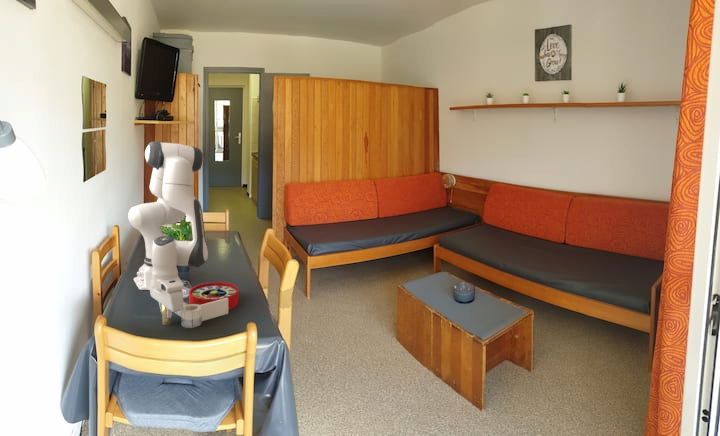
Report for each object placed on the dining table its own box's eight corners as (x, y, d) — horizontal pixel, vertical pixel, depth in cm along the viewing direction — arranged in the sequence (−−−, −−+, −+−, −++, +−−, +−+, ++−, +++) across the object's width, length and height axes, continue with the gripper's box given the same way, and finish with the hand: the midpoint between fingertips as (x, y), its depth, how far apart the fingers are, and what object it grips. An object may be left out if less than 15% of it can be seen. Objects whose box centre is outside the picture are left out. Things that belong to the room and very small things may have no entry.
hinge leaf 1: (165, 313, 181) (164, 297, 179) (182, 308, 186) (181, 293, 184) (187, 329, 168) (186, 313, 167) (204, 324, 173) (204, 308, 172)
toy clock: (181, 298, 182) (198, 281, 201) (182, 312, 183) (198, 293, 203) (231, 300, 182) (243, 283, 202) (231, 314, 184) (243, 295, 203)
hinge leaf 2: (178, 323, 173) (178, 307, 171) (223, 310, 186) (223, 295, 185) (187, 329, 168) (186, 313, 167) (232, 315, 182) (232, 300, 180)
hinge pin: (160, 323, 172) (160, 303, 170) (168, 321, 174) (168, 301, 172) (164, 326, 170) (163, 306, 168) (172, 323, 172) (171, 304, 170)
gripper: (145, 274, 173) (146, 308, 176) (168, 289, 159) (170, 326, 162) (161, 271, 177) (162, 304, 180) (186, 286, 164) (187, 321, 167)
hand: (166, 314), depth 171 cm, fingers closed on hinge pin, 3 cm apart
